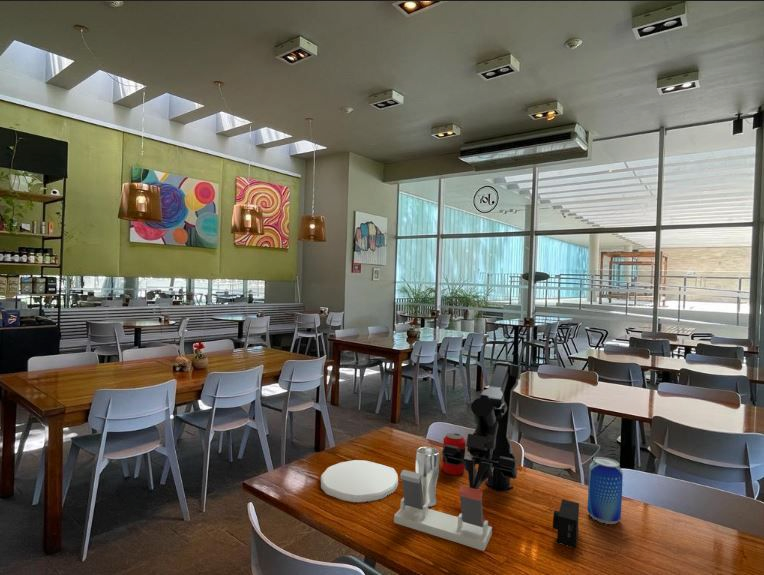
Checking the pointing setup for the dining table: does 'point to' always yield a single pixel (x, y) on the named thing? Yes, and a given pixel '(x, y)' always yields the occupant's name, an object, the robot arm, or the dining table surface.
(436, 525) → the switch console
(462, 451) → the soda can
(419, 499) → the grey lever
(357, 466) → the white flat disc
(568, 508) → the digital camera
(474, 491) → the red-capped switch paddle
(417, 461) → the beer glass
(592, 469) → the beer can
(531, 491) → the dining table surface
